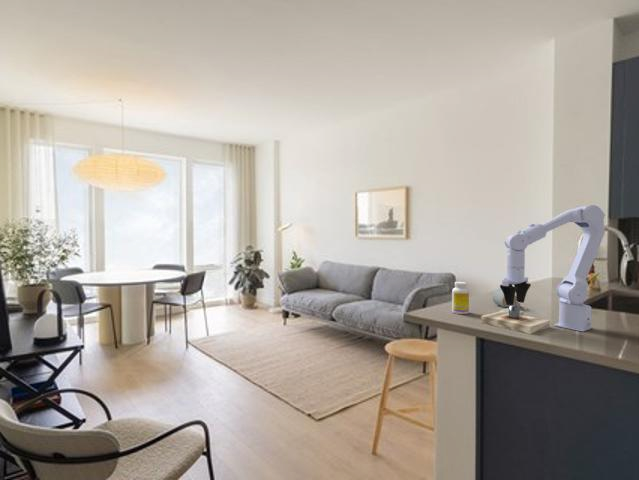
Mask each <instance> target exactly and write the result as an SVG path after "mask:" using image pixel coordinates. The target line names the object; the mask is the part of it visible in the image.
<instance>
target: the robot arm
mask: <svg viewBox="0 0 639 480" xmlns="http://www.w3.org/2000/svg"><path fill="white" fill-rule="evenodd" d="M605 216H606V214H605V212H604V211H603V209H601V207H600V206H597V205H595V204H591V205H583V206H581V205H578V206H574V207H573V208H570V209H567V210H565V211H563V212H562V213H560V214H558V215H556V216H554V217H552V218H551V219H549V220H547V221H545V222H544V223H542V224H540V223H530V224H528V227H526V228H524V229H522V230H518V231H516V234H514V233H513V234H510V235H507V238H506V240H505V241H504V245H505V247H506V248H507V253H506V254H507V255H506V277H503V279H502V280H501V282H502V283H501V284H500V285H499V287H500V288H499V289H501V290H502V291H503V294H504V297H505V301H506V304H507V305H513V303H514V296H516V297H517V302H518V303H520V304H521V303H524V302H525V300H526V296H527V293H528V291H529V289H530V288H531V285H532V284H531V283H529V277H528V276H525V266H526V265H525V262H526V261H525V257H526V255H525V254H526V253H525V250H526V249H527V247H528V246H530V245H532V244H534V243H536V242H537V241H540V240H542V239H544V238H545V237H546V235H547V233H548V232H551V231H553V230H554V229H556V228H559V227H562V226H563V225H566V224H567V223H574V224H576V225H577V226H578V227H579V228H580V229H581V230H582V232H583V233H584V235H583V238H582V241H581V243H580V246H579V248H578V250H577V253H576V255H575V257H574V261H573V262H572V265H571V268H570V270H569V273H568V274H567V275H566V276H564V277H563V279H562V281H561V282H560V283H559V284H558V285H557V286H556V289H555V290H556V291H555V292H556V295H557V296H558V297H559V303H558V304H559V305H558V322H557V323H554V324H553V326H555V327H559V328H564V329H569V330H574V331H578V332H586V331H588V330H591V329H592V328H593V326H592V322H593V317H592V316H593V309H592V306H590V305H588V304H585V303H584V302H586V300H587V299H588V297H589V296H588V288H589V283H588V281H587V279H588V275H589V274H590V271H591V268H592V266H593V264H594V261H595V259H596V256H597V253H598V251H599V250H600V249H599V248H600V246H601V243H602V241H603V239H604V237H605V234H606V228H605V221H604V219H605Z"/></svg>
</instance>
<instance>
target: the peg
mask: <svg viewBox="0 0 639 480" xmlns="http://www.w3.org/2000/svg"><path fill="white" fill-rule="evenodd" d="M508 309H509V318H510V319H515V320H520V311H521V305H520V306H517V305H509V308H508Z"/></svg>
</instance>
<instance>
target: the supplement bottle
mask: <svg viewBox="0 0 639 480" xmlns="http://www.w3.org/2000/svg"><path fill="white" fill-rule="evenodd" d="M469 295H470V291H469V289H468V288H467V282H466V281H465V282H464V281H455V282H454V287H453V288H452V290H451V312H452V313H453V314H455V315H468V314H469V310H470V309H469V308H470V307H469V306H470V305H469V304H470V302H469V301H470V300H469V299H470V296H469Z"/></svg>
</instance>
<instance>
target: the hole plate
mask: <svg viewBox="0 0 639 480" xmlns="http://www.w3.org/2000/svg"><path fill="white" fill-rule="evenodd" d="M480 319H481V321H480V322H481V323H482V324H486V325H490V326H495V327H498V328H502V329H503V328H504V329H507V330H508V329H509V330H512V331H515V332H521V333H524V334H529V335H532V334H534V333H537V332H540V331H543V330H546V329H549V328H550V320H549V319H546V318H545V319H544V318H538V317H532V316H528V315H525V314H524V315H520V320H515V319H510V318H509V312H504V311H499V312H498V311H496V312H492V313H487V314H485V315H481V316H480Z"/></svg>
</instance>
